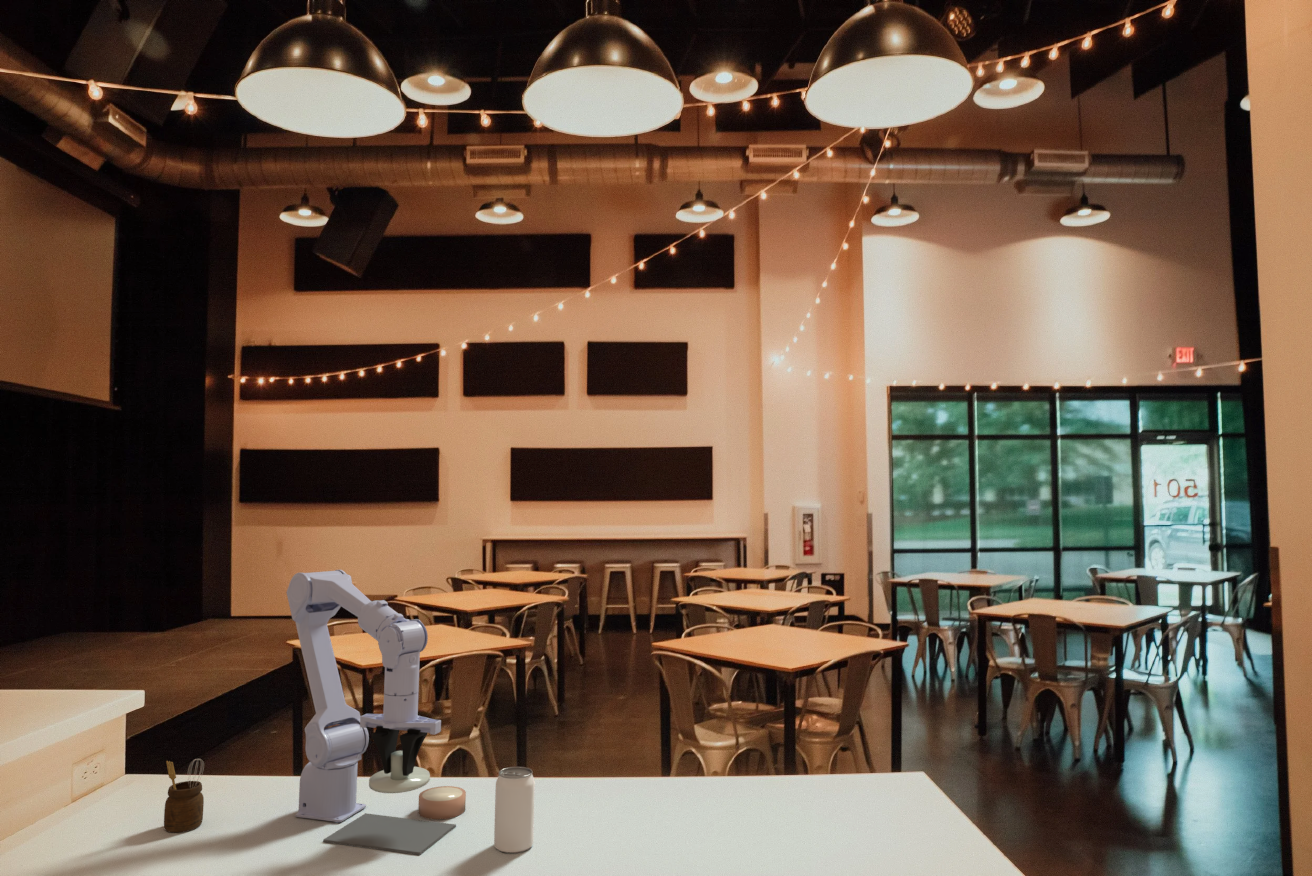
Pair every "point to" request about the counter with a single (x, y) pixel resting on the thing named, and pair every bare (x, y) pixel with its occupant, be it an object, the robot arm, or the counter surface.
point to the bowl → (442, 802)
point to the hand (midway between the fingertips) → (398, 772)
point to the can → (514, 810)
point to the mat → (391, 833)
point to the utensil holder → (183, 803)
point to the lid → (398, 777)
